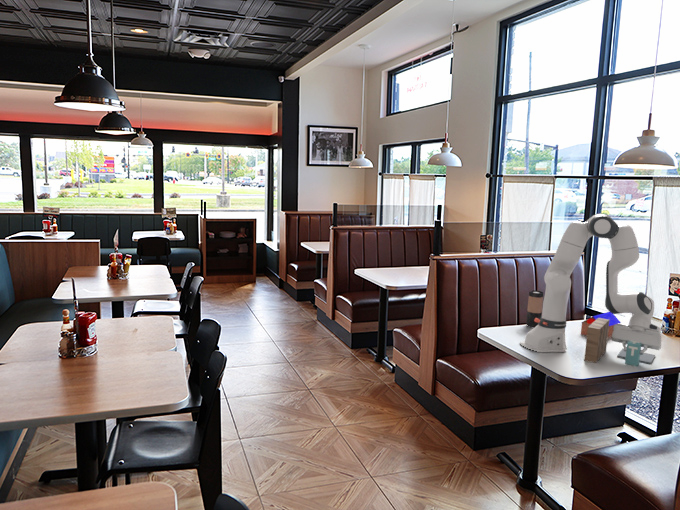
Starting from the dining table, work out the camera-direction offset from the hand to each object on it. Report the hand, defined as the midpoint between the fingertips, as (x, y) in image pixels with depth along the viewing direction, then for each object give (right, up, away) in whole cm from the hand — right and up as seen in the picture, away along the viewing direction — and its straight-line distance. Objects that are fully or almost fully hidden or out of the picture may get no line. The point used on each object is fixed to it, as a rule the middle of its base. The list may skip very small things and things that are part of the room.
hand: (633, 352), depth 238 cm
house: (+8, +1, +47) cm, 47 cm away
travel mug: (-24, +4, +58) cm, 63 cm away
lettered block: (0, -5, +1) cm, 5 cm away
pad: (+8, -4, +11) cm, 14 cm away
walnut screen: (-12, -3, +11) cm, 16 cm away
